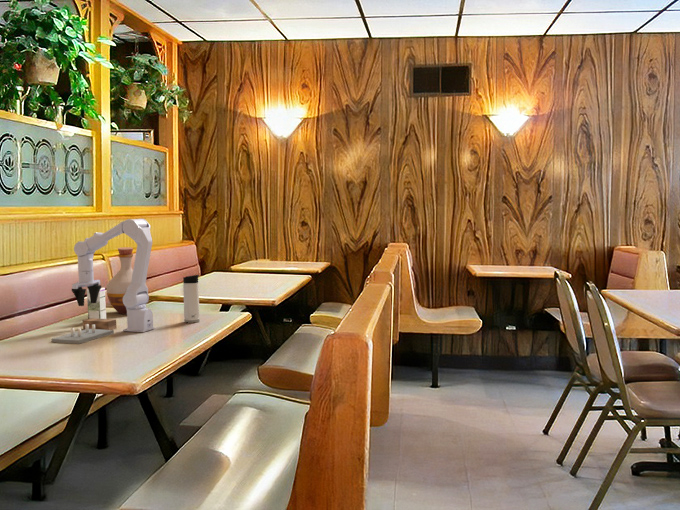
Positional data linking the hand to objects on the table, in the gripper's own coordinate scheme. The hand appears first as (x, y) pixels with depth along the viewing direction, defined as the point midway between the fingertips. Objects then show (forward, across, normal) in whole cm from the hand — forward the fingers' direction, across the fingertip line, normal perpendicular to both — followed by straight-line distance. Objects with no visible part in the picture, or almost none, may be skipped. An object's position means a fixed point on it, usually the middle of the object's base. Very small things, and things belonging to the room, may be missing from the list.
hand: (87, 304), depth 271 cm
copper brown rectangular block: (+10, +1, +6) cm, 12 cm away
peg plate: (+10, +17, +11) cm, 23 cm away
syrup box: (+10, -13, -6) cm, 17 cm away
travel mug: (+10, -23, +34) cm, 42 cm away
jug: (+10, -37, -8) cm, 39 cm away
